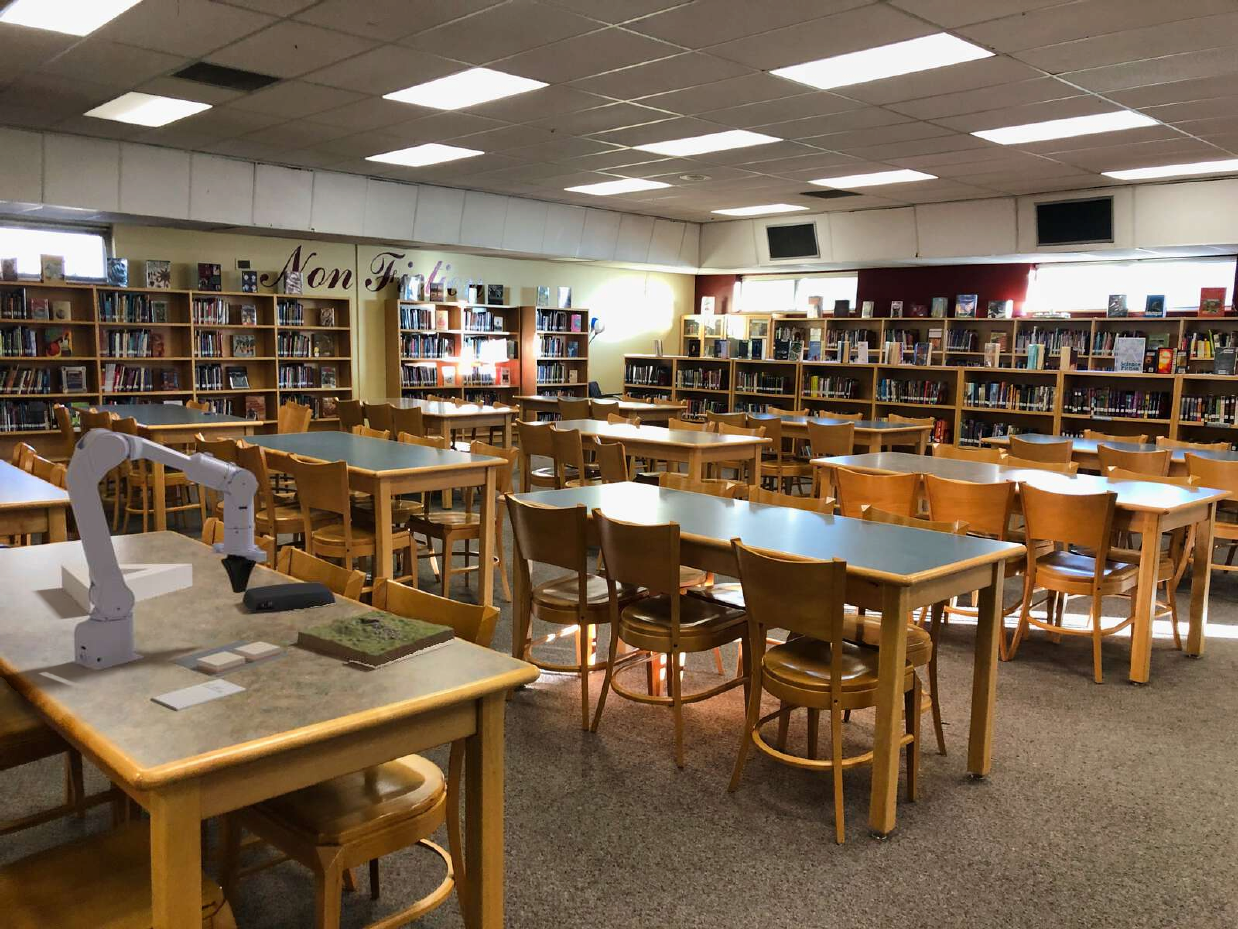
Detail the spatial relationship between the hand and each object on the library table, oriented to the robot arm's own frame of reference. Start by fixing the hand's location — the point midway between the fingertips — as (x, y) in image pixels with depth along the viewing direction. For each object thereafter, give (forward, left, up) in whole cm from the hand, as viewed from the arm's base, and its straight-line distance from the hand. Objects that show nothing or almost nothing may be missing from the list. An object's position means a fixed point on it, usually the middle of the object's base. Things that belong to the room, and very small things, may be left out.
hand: (239, 591), depth 189 cm
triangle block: (+10, +52, -11) cm, 54 cm away
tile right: (-5, -9, -9) cm, 14 cm away
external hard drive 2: (+26, +16, -11) cm, 32 cm away
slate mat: (-9, -9, -10) cm, 16 cm away
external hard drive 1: (-24, -22, -11) cm, 34 cm away
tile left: (-13, -9, -9) cm, 18 cm away
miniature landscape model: (+15, -24, -11) cm, 30 cm away
